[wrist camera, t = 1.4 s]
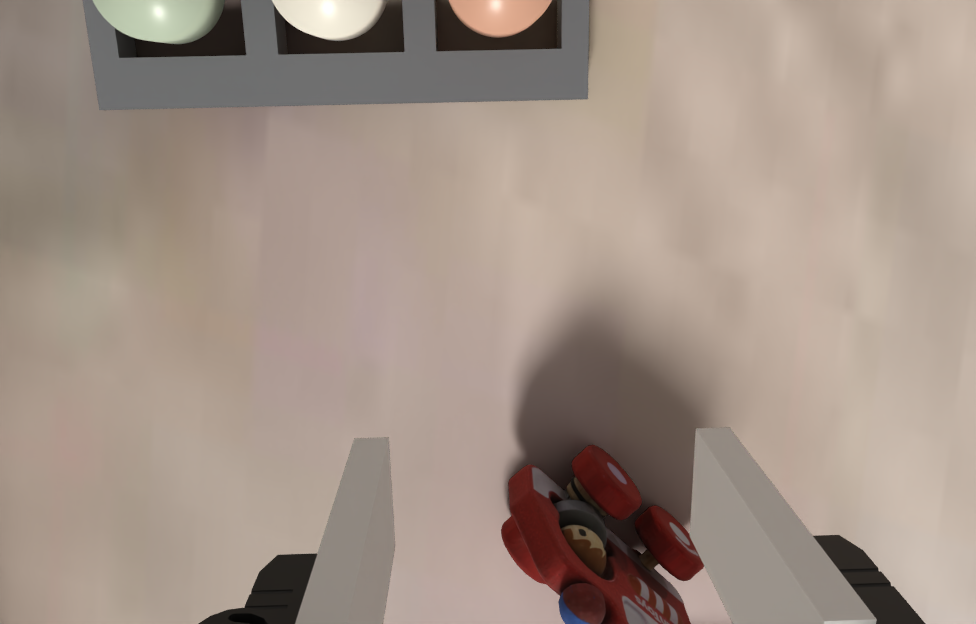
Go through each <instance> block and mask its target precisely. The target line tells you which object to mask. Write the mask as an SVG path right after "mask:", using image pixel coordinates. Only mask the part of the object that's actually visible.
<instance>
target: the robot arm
mask: <svg viewBox="0 0 976 624" xmlns="http://www.w3.org/2000/svg"><path fill="white" fill-rule="evenodd" d="M690 538H691V540H692V542H693V544H694V546H695V548H696V550H697V552H698V554H699V556H700V558H701V560H702V562H703V564H704V566H705V568H706V570H707V572H708V574H709V576H710V578H711V580H712V582H713V584H714V587H715V589H716V591H717V593H718V595H719V597H720V599H721V601H722V603H723V605H724V607H725V609H726V611H727V613H728V615H729V617H730V619H731V621H732V623H733V624H925V623H924V622H923V620H922V619H921V618H920V617H919V616H918V614H917V613H916V612H915V611H914V610H913V609H912V607H911V606H910V605H909V604H908V603H907V602H906V600H905V599H904V598H903V597H902V596H901V594H900V593H899V592H898V591H897V590H896V589H895V587H894V586H891V583H890V582H889V580H888V579H887V578H886V577H885V576H884V574H883V573H882V572H879V571H878V567H877V566H876V565H875V564H874V563H873V562H872V560H871V559H870V558H869V557H868V556H867V554H866V553H865V552H864V551H863V550H862V549H860V548H859V547H857V546H855V545H854V544H852V543H851V542H849V541H847V540H846V539H844V538H843V537H841V536H840V535H824V536H812V534H811V533H810V532H809V530H808V529H807V528H806V526H805V525H804V524H803V523H802V521H801V520H800V519H799V517H798V516H797V515H796V513H795V512H794V511H793V510H792V508H791V507H790V506H789V504H788V503H787V502H786V500H785V499H784V498H783V496H782V495H781V494H780V493H779V491H778V490H777V489H776V487H775V486H774V485H773V483H772V482H771V481H770V479H769V478H768V477H767V476H766V474H765V473H764V472H763V470H762V469H761V468H760V466H759V465H758V464H757V463H756V461H755V460H754V459H753V457H752V456H751V455H750V453H749V452H748V451H747V449H746V448H745V447H744V446H743V444H742V443H741V442H740V440H739V439H738V438H737V436H736V435H735V434H734V432H733V431H732V430H731V429H730V427H725V428H696V434H695V452H694V469H693V486H692V504H691V521H690ZM394 551H395V532H394V515H393V499H392V482H391V466H390V449H389V437H384V438H354V442H353V445H352V448H351V451H350V454H349V457H348V460H347V463H346V466H345V470H344V473H343V476H342V479H341V482H340V485H339V488H338V491H337V495H336V498H335V501H334V504H333V507H332V510H331V513H330V516H329V519H328V523H327V526H326V529H325V532H324V535H323V538H322V541H321V544H320V547H319V551H318V554H291V555H277V556H276V557H275V558H274V559H273V560H272V561H271V562H270V563H269V564H267V565H266V566H265V567H264V568H263V569H262V570H261V571H260V572H259V574H258V577H257V579H256V581H255V584H254V586H253V588H252V591H251V594H250V595H249V598H248V600H247V602H246V605H245V608H238V609H230V610H226V611H223V612H220V613H218V614H215V615H212V616H210V617H208V618H207V619H205V620H204V621H202V622H200V623H199V624H383V621H384V614H385V608H386V602H387V595H388V589H389V582H390V576H391V570H392V563H393V557H394Z"/></svg>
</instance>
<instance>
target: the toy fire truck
mask: <svg viewBox="0 0 976 624" xmlns="http://www.w3.org/2000/svg"><path fill="white" fill-rule="evenodd" d="M572 470H573V472H574V475H575V476H576V478H573V479H572V480H571V482H570V483H569V484H568V486H567V489H566V490H565V491H564V490H563V489H562V488H561V487H560V486H558V485H557V484H556V483H555V482H554V481H553V480H552V479H550V478H549V477H548V476H547V475H546V474H545V473H544V472H543V471H541V470H540V469H539V468H538V467H536V466H534V465H526V466H525V467H523V468H522V469H521V470H520V471H519V472H518V473H516V474H515V475H514V476H513V477H512V478H511V479H510V480H509V483H508V484H509V500H510V511H511V514H512V516H511V517H510V518H509V519H508V520H506V521H505V522H504V524H503V526H502V529H501V534H502V539H503V542H504V544H505V547H506V548H507V550H508V552H509V554H510V555H511V557H512V558H513V560H514V561H515V562H516V564H517V565H518V566H519V567H520V568H521V569H522V570H523V571H524V572H525V573H526V574H527V575H528V576H530V577H531V578H532V579H534V580H535V581H537V582H539V583H543V584H547V585H548V586H549V587H550V588H551V589H552V590H554V591H555V592H556V593H557V594H558V595H560V599H559V609H560V614H561V617H562V619H563V621H564V623H565V624H691V623H690V621H689V617H688V615H687V613H686V610H685V607H684V603H683V601H682V599H681V596H680V595H679V593H678V592H677V590H676V589H675V588H674V587H673V585H672V584H671V583H670V582H668V581H667V580H666V579H665V578H664V577H663V576H662V575H660V574H659V573H658V572H657V571H656V570H655V569H654V567H655V566H656V565H658V564H660V565H661V566H662V567H663V568H664V569H665V570H667V571H668V572H669V573H670V574H671V575H673V576H674V577H676V578H677V579H679V580H682V581H687V580H690V579H691V578H692V577H693V576H694V575H695V574H697V573H698V572H699V571H700V570H701V569H703V567H704V564H703V562H702V560H701V558H700V556H699V554H698V552H697V550H696V548H695V546H694V544H693V542H692V540H691V538H690V534H689V533H688V532H687V531H686V530H685V528H684V527H683V526H682V525H681V524H680V523H679V522H678V521H677V520H676V519H675V518H674V517H673V516H672V515H671V514H669V513H668V512H667V511H665V510H664V509H662V508H661V507H658V506H651V507H649V508H648V509H647V510H646V511H645V512H644V513H643V514H642V515H640V516H639V517H638V518H637V520H636V521H635V528H636V531H637V533H638V535H639V537H640V538H641V540H642V542H643V543H644V545H645V547H646V548H647V550H646V551H645V552H644V553H643V554H641V553H640V552H638V551H637V550H634V549H631V548H630V547H628V546H627V545H626V544H625V543H624V542H623V541H621V540H620V539H619V538H618V537H617V536H616V535H615V534H614V533H612V532H611V531H610V530H609V529H608V528H607V527H606V526H605V523H604V519H603V518H604V517H606V516H607V515H610V516H611V517H613V518H615V519H617V520H624V519H627V518H628V517H629V516H630V515H631V514H632V513H633V512H635V511H636V510H637V509H638V508H639V507H640V505H641V504H642V499H641V496H640V493H639V491H638V489H637V487H636V486H635V484H634V483H633V481H632V480H631V479H630V477H629V476H628V475H627V473H626V472H625V471H624V470H623V469H622V467H621V466H620V465H619V464H618V463H617V462H616V461H615V460H614V459H613V458H612V457H611V456H610V455H609V454H608V453H606V452H605V451H604V450H602V449H601V448H599V447H597V446H595V445H590V446H588V447H586V448H585V449H584V450H583V451H582V452H580V453H579V454H578V455H577V456H576V457H575V458H574V459H573V461H572Z"/></svg>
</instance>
